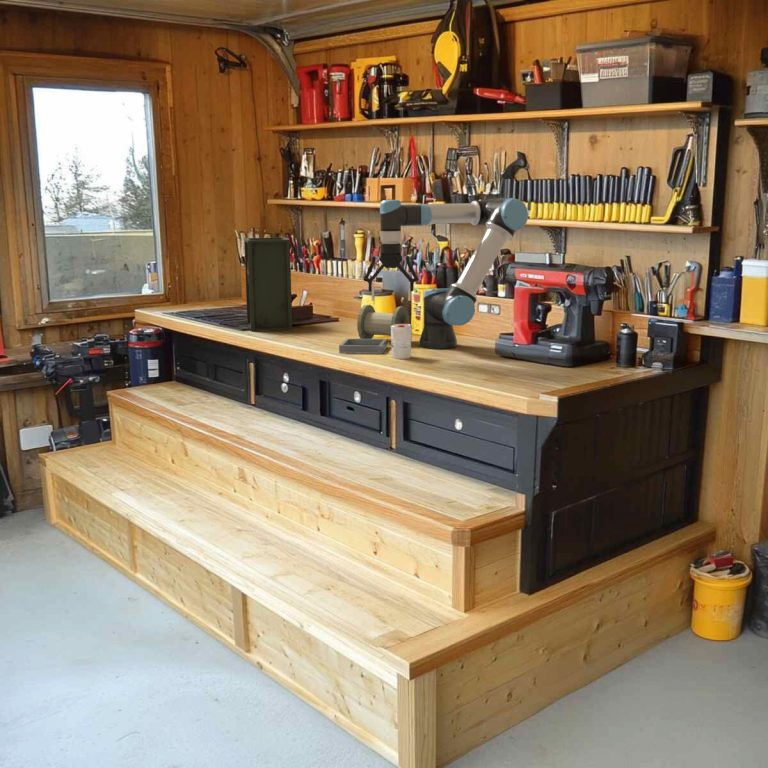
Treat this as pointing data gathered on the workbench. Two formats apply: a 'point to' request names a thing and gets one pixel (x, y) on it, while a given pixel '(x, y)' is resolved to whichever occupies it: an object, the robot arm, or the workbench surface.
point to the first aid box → (268, 283)
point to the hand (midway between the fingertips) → (391, 300)
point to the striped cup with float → (401, 340)
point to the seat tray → (363, 346)
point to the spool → (379, 321)
